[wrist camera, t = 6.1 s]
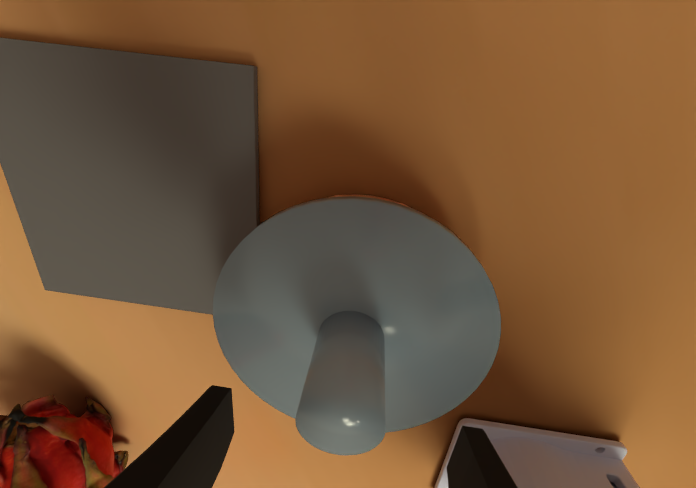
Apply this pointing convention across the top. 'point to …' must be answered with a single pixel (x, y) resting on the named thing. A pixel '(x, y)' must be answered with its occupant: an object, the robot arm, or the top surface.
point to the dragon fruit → (57, 447)
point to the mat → (129, 168)
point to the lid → (356, 319)
